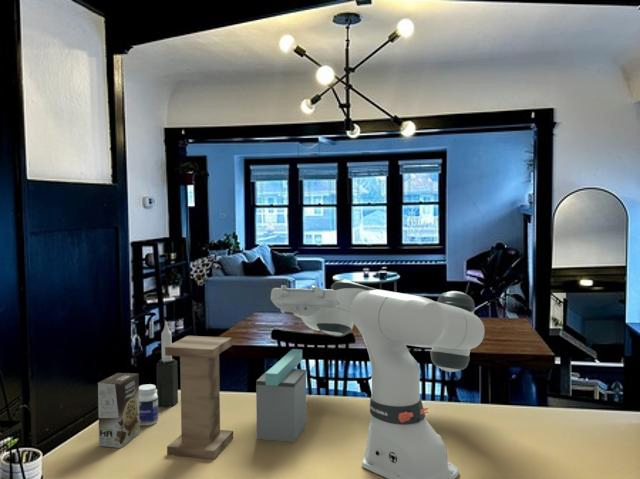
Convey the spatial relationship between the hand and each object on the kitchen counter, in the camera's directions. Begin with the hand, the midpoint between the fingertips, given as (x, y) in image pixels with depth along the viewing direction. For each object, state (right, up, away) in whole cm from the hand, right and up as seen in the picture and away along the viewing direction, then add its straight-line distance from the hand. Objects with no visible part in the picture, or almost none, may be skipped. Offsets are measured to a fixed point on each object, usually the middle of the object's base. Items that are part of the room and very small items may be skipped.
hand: (298, 288), depth 160 cm
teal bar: (-3, -21, -13) cm, 25 cm away
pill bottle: (-41, -36, -9) cm, 56 cm away
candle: (-40, -36, +5) cm, 54 cm away
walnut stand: (-23, -37, -25) cm, 50 cm away
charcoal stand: (-4, -36, -16) cm, 40 cm away
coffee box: (-45, -37, -21) cm, 62 cm away
